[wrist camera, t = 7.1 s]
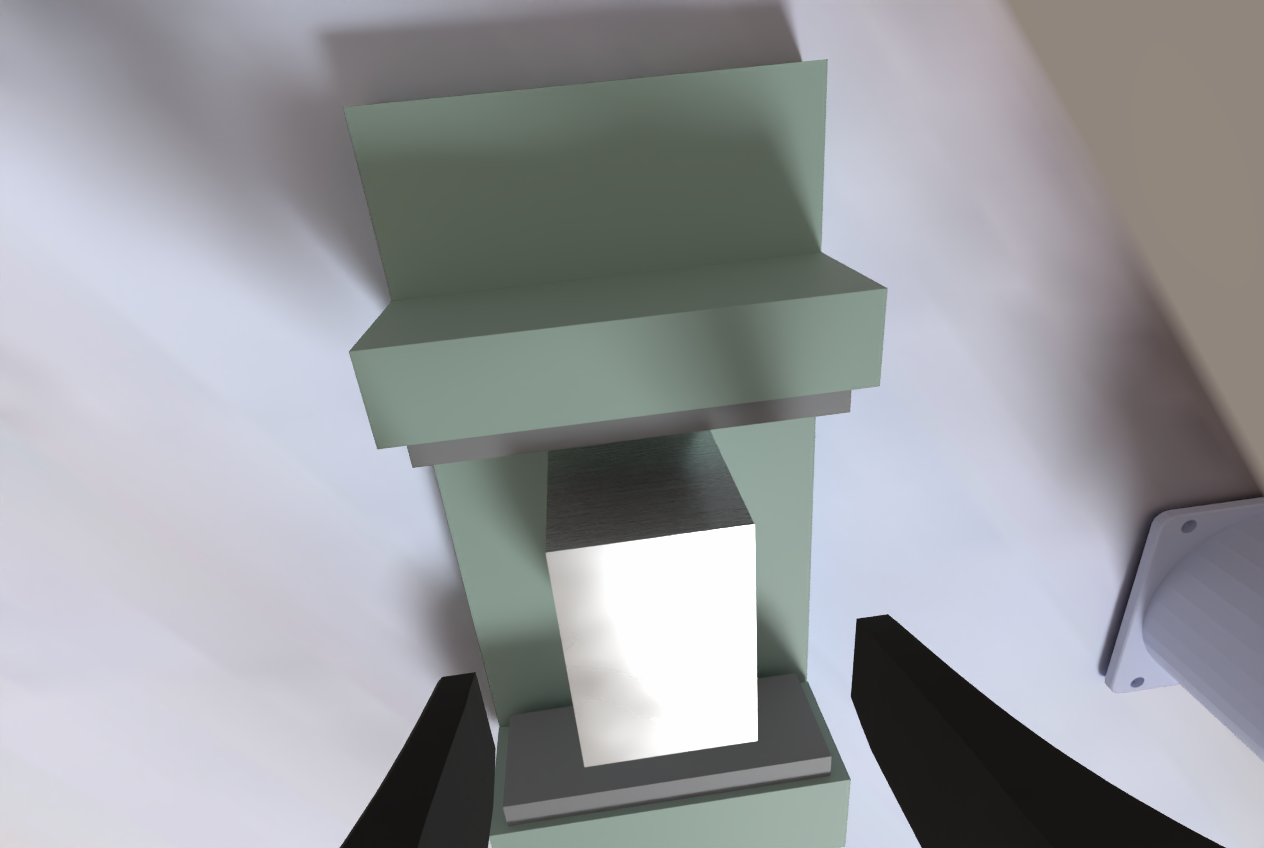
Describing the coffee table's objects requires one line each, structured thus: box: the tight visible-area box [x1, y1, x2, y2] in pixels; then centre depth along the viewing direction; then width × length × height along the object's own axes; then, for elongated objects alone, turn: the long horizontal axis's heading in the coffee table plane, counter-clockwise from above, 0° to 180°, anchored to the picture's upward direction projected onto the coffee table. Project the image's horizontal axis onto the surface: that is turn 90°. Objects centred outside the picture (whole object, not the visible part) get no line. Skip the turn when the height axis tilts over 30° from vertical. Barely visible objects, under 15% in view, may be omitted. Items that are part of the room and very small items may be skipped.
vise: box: [343, 59, 887, 727], centre depth 17 cm, size 10×20×5 cm, turn 5°
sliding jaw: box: [489, 673, 851, 848], centre depth 20 cm, size 10×4×4 cm, turn 95°
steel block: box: [545, 430, 757, 767], centre depth 16 cm, size 4×6×5 cm, turn 5°
